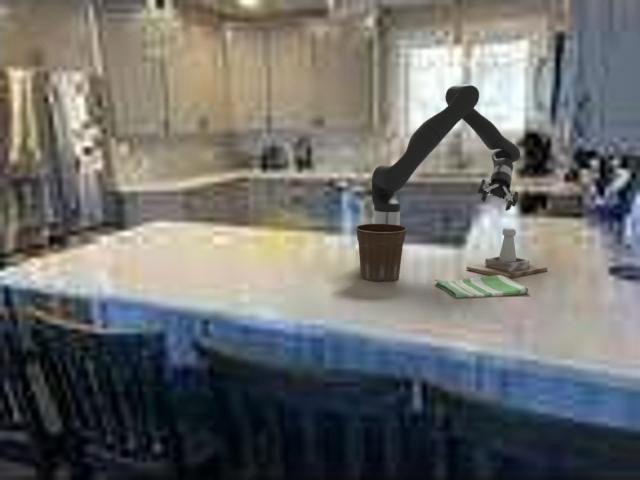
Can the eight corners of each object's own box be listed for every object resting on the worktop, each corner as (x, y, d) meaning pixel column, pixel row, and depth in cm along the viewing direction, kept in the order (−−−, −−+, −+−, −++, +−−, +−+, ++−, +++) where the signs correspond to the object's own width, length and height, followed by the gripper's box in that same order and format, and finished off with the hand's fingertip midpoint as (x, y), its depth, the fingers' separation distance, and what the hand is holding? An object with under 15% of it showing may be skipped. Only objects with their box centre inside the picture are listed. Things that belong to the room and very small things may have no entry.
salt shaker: (516, 269, 233) (518, 230, 231) (498, 268, 234) (500, 229, 232) (515, 265, 239) (517, 227, 236) (497, 264, 240) (500, 226, 237)
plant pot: (391, 286, 212) (392, 233, 209) (344, 279, 220) (345, 228, 217) (413, 276, 226) (415, 226, 223) (369, 270, 234) (370, 222, 231)
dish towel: (432, 285, 216) (433, 276, 216) (502, 282, 221) (503, 274, 221) (456, 300, 199) (456, 290, 199) (531, 296, 204) (532, 287, 204)
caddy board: (505, 279, 224) (506, 267, 223) (466, 270, 236) (467, 259, 235) (547, 270, 237) (547, 259, 236) (508, 262, 249) (508, 252, 249)
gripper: (486, 164, 258) (480, 189, 246) (523, 178, 257) (519, 203, 245) (478, 180, 263) (472, 205, 251) (515, 193, 262) (510, 219, 250)
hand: (495, 204), depth 248 cm, fingers open, 8 cm apart
